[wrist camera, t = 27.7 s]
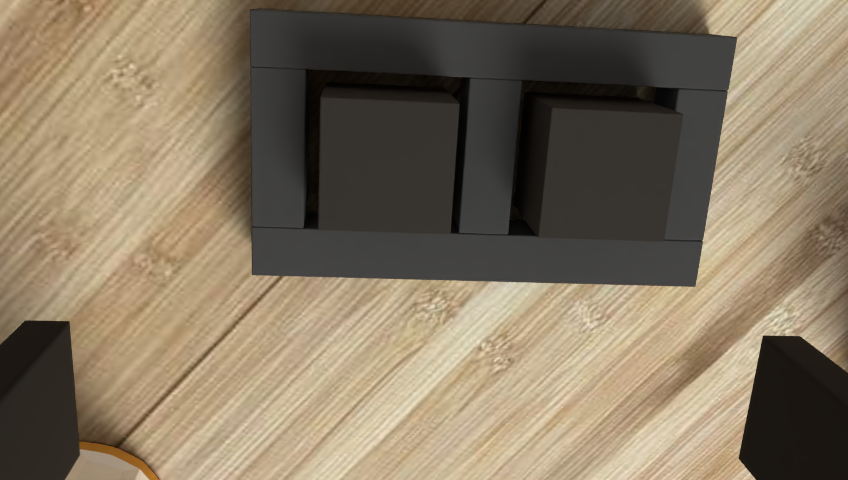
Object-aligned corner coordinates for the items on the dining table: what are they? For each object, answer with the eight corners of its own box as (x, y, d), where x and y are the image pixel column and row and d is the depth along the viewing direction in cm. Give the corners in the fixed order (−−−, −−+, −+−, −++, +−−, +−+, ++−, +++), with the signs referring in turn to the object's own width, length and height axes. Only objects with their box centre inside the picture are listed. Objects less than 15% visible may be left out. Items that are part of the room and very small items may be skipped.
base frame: (257, 8, 38) (249, 9, 35) (710, 34, 40) (737, 37, 37) (259, 256, 42) (251, 275, 39) (673, 268, 44) (695, 287, 41)
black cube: (445, 87, 40) (459, 103, 34) (438, 202, 42) (450, 235, 36) (325, 81, 39) (320, 96, 34) (323, 198, 41) (317, 231, 35)
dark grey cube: (638, 97, 41) (684, 113, 35) (623, 209, 43) (664, 242, 37) (524, 91, 40) (551, 107, 34) (513, 205, 42) (537, 238, 36)
